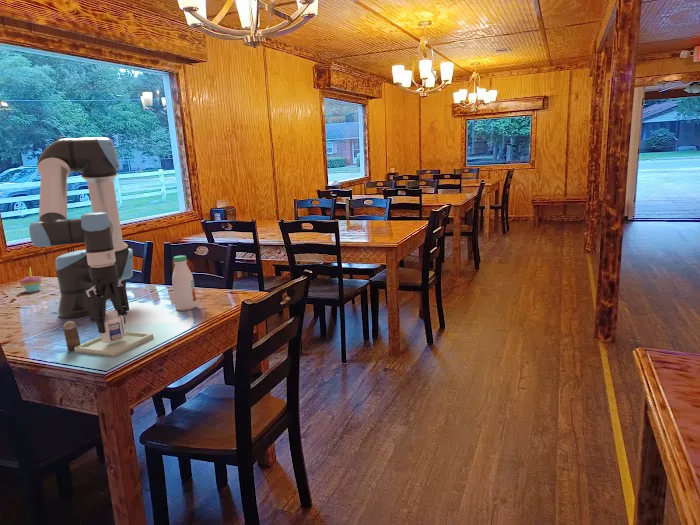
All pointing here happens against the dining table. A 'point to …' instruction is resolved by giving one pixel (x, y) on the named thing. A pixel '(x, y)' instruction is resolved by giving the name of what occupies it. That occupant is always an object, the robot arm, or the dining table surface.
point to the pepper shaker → (71, 335)
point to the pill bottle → (114, 325)
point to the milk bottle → (183, 285)
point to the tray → (114, 344)
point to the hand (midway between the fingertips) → (114, 338)
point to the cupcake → (31, 283)
